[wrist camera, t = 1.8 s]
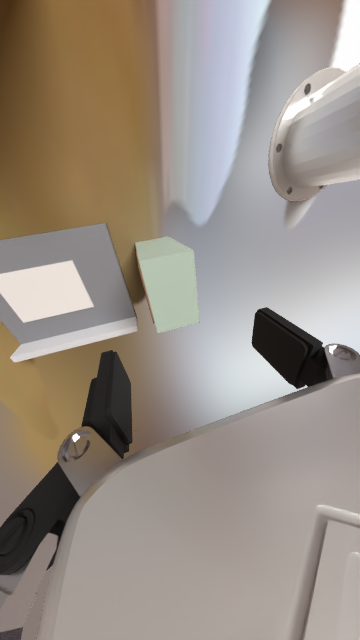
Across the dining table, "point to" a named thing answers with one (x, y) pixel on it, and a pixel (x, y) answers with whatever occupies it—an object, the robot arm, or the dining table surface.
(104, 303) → the shelf board
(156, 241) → the box
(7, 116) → the dining table surface
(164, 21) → the dining table surface
